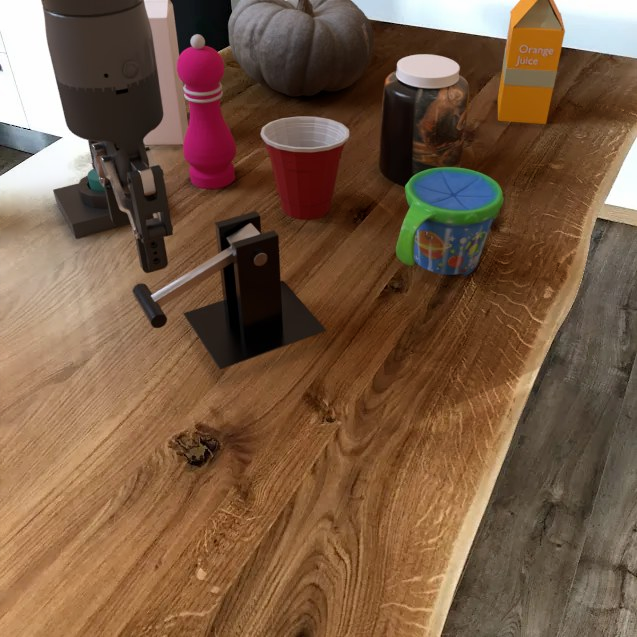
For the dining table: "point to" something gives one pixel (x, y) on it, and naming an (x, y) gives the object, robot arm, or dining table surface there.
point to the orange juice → (530, 61)
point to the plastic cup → (305, 162)
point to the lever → (186, 280)
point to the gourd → (301, 43)
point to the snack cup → (448, 219)
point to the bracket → (251, 300)
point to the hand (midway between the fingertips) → (139, 244)
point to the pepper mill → (206, 117)
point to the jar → (422, 117)
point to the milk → (167, 75)
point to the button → (94, 181)
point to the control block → (85, 209)
